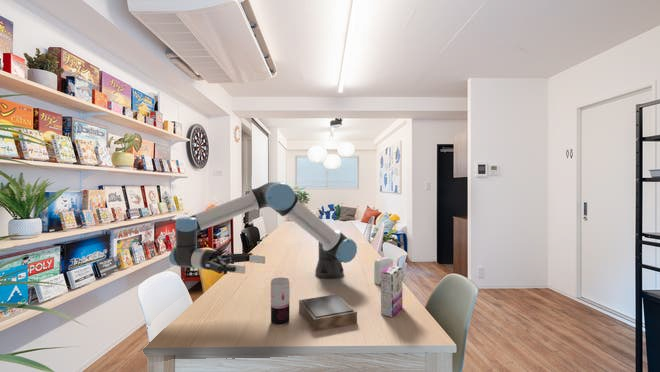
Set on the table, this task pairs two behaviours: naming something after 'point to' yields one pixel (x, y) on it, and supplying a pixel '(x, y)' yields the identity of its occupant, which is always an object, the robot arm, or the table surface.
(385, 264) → the photo printer
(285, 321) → the beverage can
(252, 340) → the table surface
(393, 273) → the candy bar box
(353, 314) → the walnut stand
